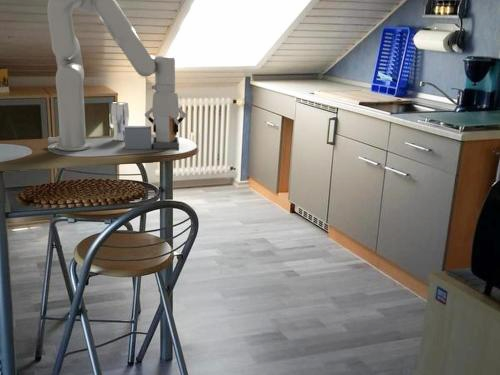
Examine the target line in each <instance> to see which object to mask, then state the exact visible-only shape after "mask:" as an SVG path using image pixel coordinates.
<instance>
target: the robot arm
mask: <svg viewBox="0 0 500 375" xmlns="http://www.w3.org/2000/svg"><path fill="white" fill-rule="evenodd" d="M46 8H47V12H46V13H47V19H48V27H49V33H50V40H51V42H50V43H51V50H52V52H53V55H54V56H55V62H56V65H57V66H56V67H57V70H56V73H55V88H56V95H57V111H58V125H59V126H58V129H59V135H58V136H54V137H53V136H48V138H47V142H48V143H53V144H55V143H56V144H55V146H56V149H57V150H59V151H64V152H65V151H66V152H67V151H74V152H75V151H84V150H87V149H89V148H91V143H90V142H87V138H86V132H87V131H86V116H85V115H86V113H85V112H86V111H85V97H84V96H85V95H84V94H85V93H84V79H85V69H84V63H83V58H82V50H81V45H80V42H79V40H78V38H77V37H76V33H75V26H74V18H73V11H74V9H77V10H80V11H84V12H87V13H90V14H91V13H92V14H95V15H97V17H98V18H99V20H100V21H101V23H102V24H103V26H104V27H105V29H106V30H107V31H108V33H109V35H110V36H111V38H112V39H113V41H114V43H116V45H117V46H118V47H119V48H120V49H121V51H122V52H123V54H124V55H125V58H127V60H128V61H129V63H130V64H131V65H132V67H133V69H134V70H135V72H136V73H137V74H138V75H139V76H141V77H143V78H144V77H146V78H147V77H150V76H152V75H154V77H155V78H154V79H155V80H154V82H155V84H153V85H151V89H152V90H154V91H153V95H152V104H151V105H152V107H151V108H150V109H149V110H148V111H146V112H145V113H144V116H145V117H146V119H147V120H148V121H149V122H150V124H152V126H153V133H154V134H155V136H156V116H171V119H174V121H175V135H176V136H177V135H178V134H177V133H179V124H180V123H181V122H183V120H184V119H185V118H186V117H187V113H186V112H185V111H183V110H182V109H181V108H180V104H179V96H178V92H177V91H176V60H175V59H176V58H174V56H171V55H158V56H157V55H150V54H149V52H148V50H147V49H146V47H145V46H144V44H143V43H142V41H141V39H140V38H139V36H138V34H137V32H136V30H135V28H134V26H133V24H132V23H131V22H130V21H129V19H128V17H127V16H126V14H125V13H124V12H123V9H122V8H121V6H120V5H119V3H118V2H117V0H48V3H47V7H46ZM151 114H152V116H150V115H151ZM180 114H181V116H180ZM179 116H180V117H179ZM152 117H153V118H154V119H153V118H152Z"/></svg>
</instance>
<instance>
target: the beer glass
mask: <svg viewBox="0 0 500 375" xmlns="http://www.w3.org/2000/svg"><path fill="white" fill-rule="evenodd" d="M110 107H111V111H110V114H111V122H112V126H113V141H114V140H115V142H125V129H124V127H125V126H129V119H130V114H129V113H130V110H129V103H128V102H123V101H118V102H116V101H115V102H111V106H110Z"/></svg>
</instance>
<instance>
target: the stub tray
mask: <svg viewBox="0 0 500 375" xmlns="http://www.w3.org/2000/svg"><path fill="white" fill-rule="evenodd" d="M152 150H154V151H155V150H165V151H166V150H180V142H179V137H178V136H176V139H175V140H173V141H171V142H170V143H163V142H156V136H153V137H152Z"/></svg>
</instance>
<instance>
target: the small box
mask: <svg viewBox="0 0 500 375" xmlns="http://www.w3.org/2000/svg"><path fill="white" fill-rule="evenodd" d="M155 137H156V142H163V143H170V142H171V141H173V140H175V139H176V137H177V135H175V121H174V119H171V116H156V135H155Z"/></svg>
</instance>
